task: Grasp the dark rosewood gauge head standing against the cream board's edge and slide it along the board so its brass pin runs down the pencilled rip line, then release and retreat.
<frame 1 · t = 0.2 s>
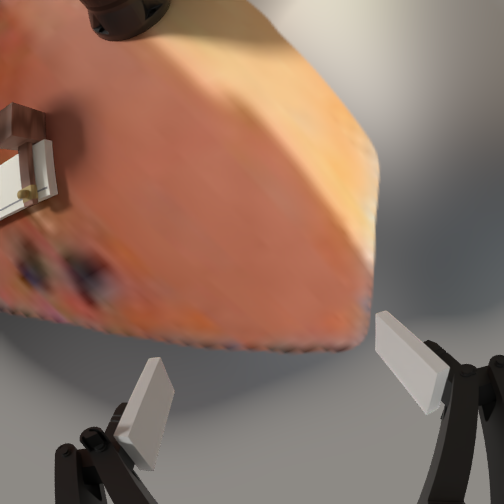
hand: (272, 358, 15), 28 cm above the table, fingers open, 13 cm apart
gauge: (36, 132, 36), on the table
board: (16, 185, 37), on the table
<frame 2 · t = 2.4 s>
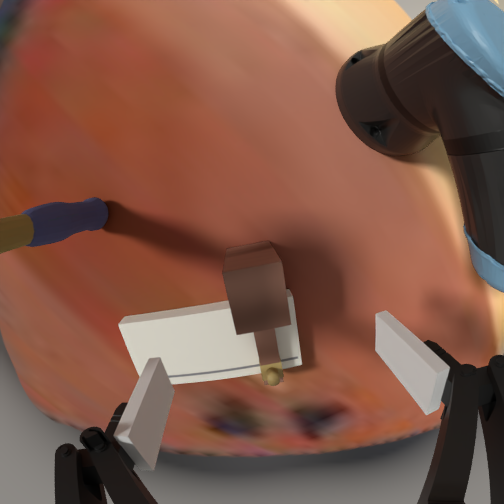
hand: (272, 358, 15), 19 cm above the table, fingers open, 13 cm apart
rubber mallet: (100, 212, 31), on the table
gauge: (252, 268, 34), on the table
board: (211, 339, 35), on the table
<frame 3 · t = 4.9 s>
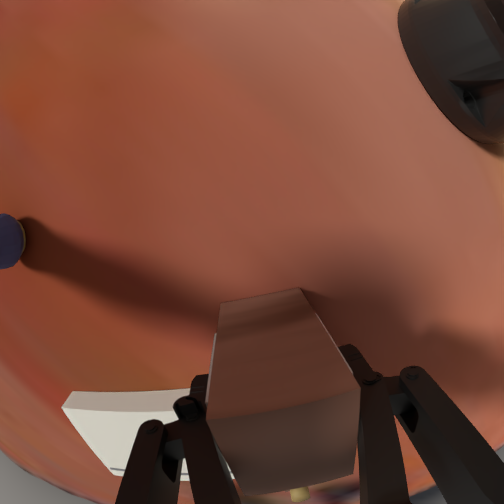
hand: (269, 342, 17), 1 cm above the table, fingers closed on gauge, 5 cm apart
rubber mallet: (18, 236, 16), on the table
gauge: (268, 336, 18), on the table, touching gripper
board: (202, 430, 20), on the table
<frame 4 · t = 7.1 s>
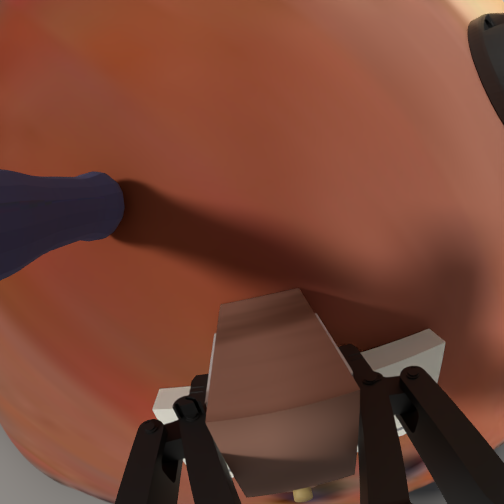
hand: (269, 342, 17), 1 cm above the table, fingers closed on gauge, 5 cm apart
rubber mallet: (107, 204, 16), on the table
gauge: (268, 337, 18), on the table, touching gripper
board: (308, 412, 20), on the table
when the fingers open (1 cm above the table, at t = 9.4 s): gauge stays where it is, on the table.
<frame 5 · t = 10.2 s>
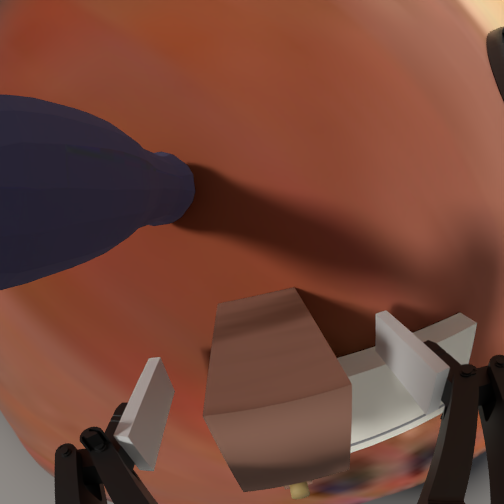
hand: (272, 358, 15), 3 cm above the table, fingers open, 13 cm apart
rubber mallet: (167, 189, 16), on the table
gauge: (264, 335, 18), on the table
board: (355, 397, 20), on the table
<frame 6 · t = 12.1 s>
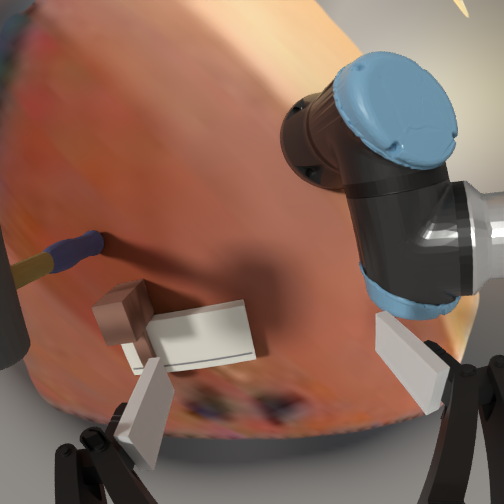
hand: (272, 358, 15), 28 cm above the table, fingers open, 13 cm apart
rubber mallet: (98, 240, 41), on the table
gauge: (135, 298, 43), on the table
board: (185, 337, 45), on the table
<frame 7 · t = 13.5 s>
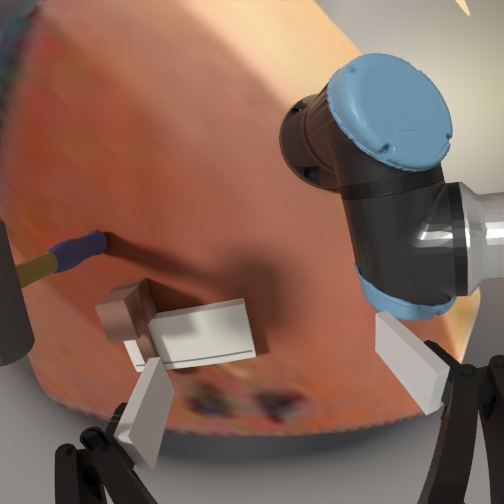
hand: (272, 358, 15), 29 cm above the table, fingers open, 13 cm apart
rubber mallet: (101, 240, 42), on the table
gauge: (138, 296, 44), on the table
board: (186, 335, 46), on the table
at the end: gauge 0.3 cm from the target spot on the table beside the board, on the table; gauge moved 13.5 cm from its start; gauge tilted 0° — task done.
